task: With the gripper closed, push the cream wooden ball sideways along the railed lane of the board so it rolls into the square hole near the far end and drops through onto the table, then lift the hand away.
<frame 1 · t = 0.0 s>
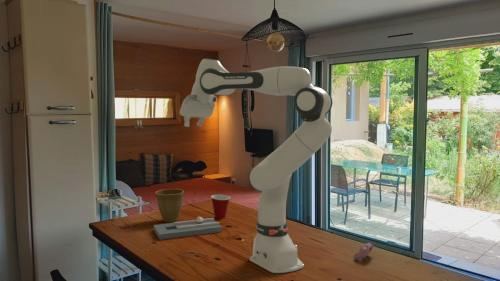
hand: (192, 126, 163), 52 cm above the table, tool tilted 20°, fingers open, 8 cm apart
ball: (199, 220, 186), point 4 cm above the table, touching hole board
hole board: (187, 230, 184), on the table
plastic cup: (220, 217, 208), on the table
plant pot: (170, 221, 201), on the table
pink plastic figure: (363, 258, 150), on the table
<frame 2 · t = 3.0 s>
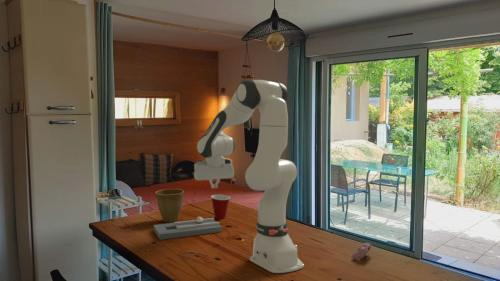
hand: (214, 187, 188), 20 cm above the table, tool pointing down, fingers closed
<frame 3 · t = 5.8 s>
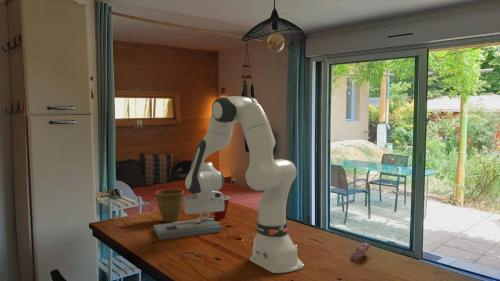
hand: (204, 221, 188), 4 cm above the table, tool pointing down, fingers closed
ball: (197, 220, 186), point 4 cm above the table, tilted 18°, touching gripper, hole board
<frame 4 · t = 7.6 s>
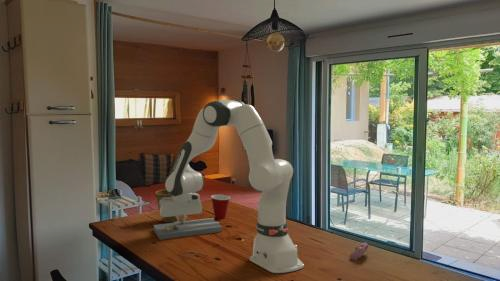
hand: (181, 224, 183), 4 cm above the table, tool pointing down, fingers closed
ball: (170, 228, 180), point 2 cm above the table, tilted 126°
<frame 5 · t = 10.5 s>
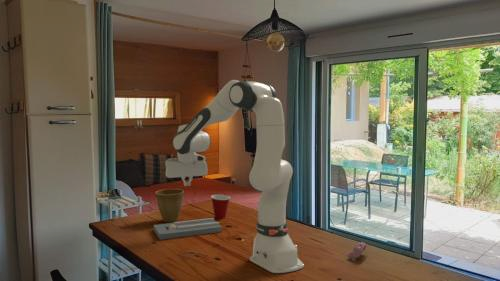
hand: (187, 185, 182), 22 cm above the table, tool pointing down, fingers closed
ball: (172, 228, 181), point 2 cm above the table, tilted 99°
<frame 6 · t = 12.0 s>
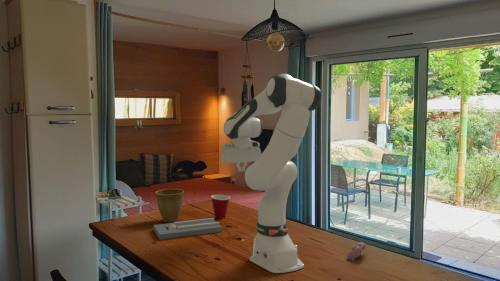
hand: (241, 171, 186), 29 cm above the table, tool pointing down, fingers closed
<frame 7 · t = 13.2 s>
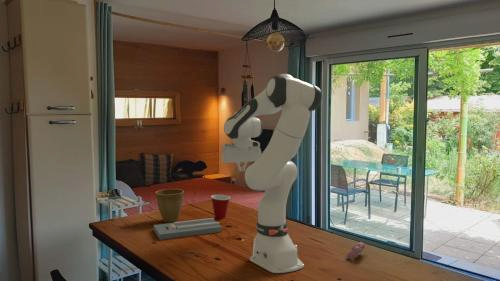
hand: (241, 170, 186), 29 cm above the table, tool pointing down, fingers closed
at the end: ball 0.3 cm from the target spot on the hole board, point 2.0 cm above the hole board's base; ball touching table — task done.
